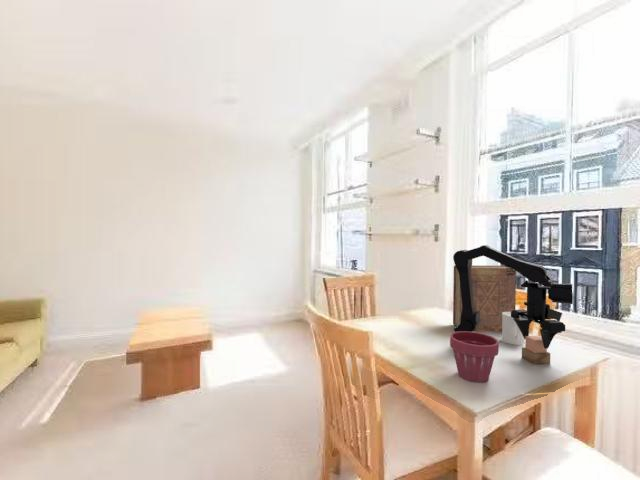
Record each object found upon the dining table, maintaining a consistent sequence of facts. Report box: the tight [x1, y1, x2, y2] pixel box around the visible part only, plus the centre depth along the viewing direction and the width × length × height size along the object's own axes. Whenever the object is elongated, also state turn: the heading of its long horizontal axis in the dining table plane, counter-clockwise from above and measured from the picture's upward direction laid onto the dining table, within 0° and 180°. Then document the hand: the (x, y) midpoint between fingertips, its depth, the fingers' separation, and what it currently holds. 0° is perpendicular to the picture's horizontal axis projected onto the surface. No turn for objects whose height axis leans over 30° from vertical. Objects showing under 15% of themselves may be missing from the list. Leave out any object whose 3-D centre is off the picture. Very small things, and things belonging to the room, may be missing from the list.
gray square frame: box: [520, 357, 552, 367], centre depth 115 cm, size 8×8×1 cm
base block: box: [521, 347, 551, 366], centre depth 115 cm, size 6×6×4 cm
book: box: [452, 265, 517, 332], centre depth 154 cm, size 25×9×30 cm, turn 84°
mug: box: [500, 312, 525, 346], centre depth 134 cm, size 12×8×12 cm
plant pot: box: [449, 331, 500, 383], centre depth 104 cm, size 14×14×13 cm
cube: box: [524, 335, 548, 353], centre depth 114 cm, size 4×4×4 cm
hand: (535, 343), depth 114 cm, fingers open, 9 cm apart
